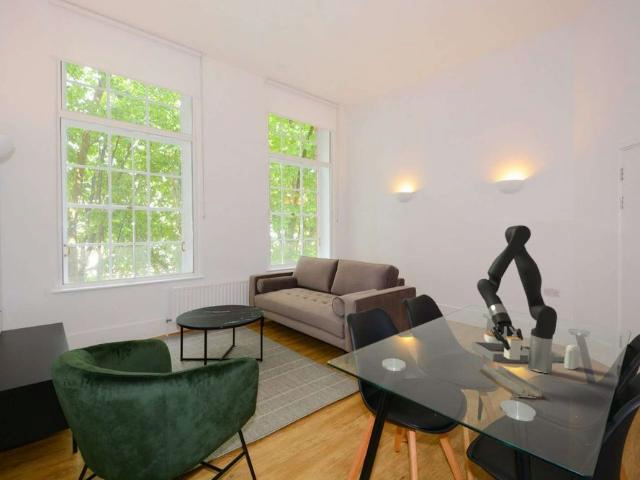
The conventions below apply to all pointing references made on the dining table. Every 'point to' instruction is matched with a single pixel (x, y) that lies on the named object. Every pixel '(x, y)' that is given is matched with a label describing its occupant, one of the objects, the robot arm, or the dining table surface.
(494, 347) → the large tray rim
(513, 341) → the block
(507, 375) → the rail board
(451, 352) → the dining table surface
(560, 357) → the small tray rim
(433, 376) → the dining table surface
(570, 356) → the white ridged block
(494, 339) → the lidded jar
